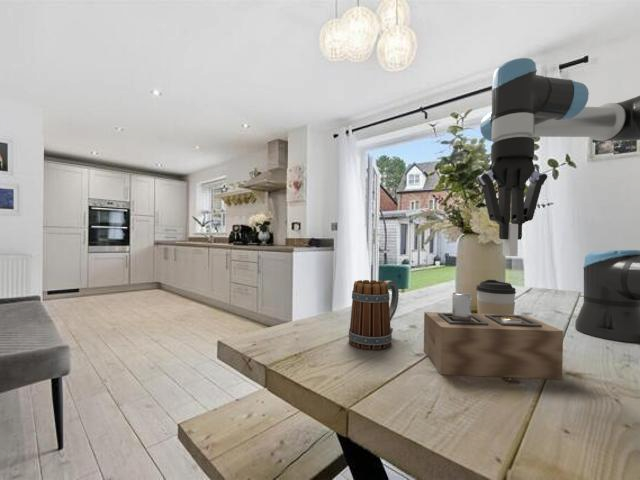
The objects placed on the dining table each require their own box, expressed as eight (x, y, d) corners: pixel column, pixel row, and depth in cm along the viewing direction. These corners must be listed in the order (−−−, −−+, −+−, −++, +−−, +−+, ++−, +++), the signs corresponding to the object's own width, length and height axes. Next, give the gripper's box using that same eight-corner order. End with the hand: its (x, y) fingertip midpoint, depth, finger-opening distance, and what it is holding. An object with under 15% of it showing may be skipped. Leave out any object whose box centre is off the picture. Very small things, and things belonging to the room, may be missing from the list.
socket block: (523, 355, 69) (524, 313, 69) (562, 379, 57) (563, 328, 57) (423, 351, 70) (424, 310, 70) (440, 374, 58) (441, 325, 58)
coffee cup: (521, 346, 75) (522, 284, 75) (481, 343, 76) (482, 283, 76) (506, 334, 84) (507, 279, 83) (471, 332, 85) (471, 278, 85)
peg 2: (514, 356, 65) (515, 316, 65) (525, 363, 61) (525, 321, 61) (497, 356, 65) (497, 316, 65) (506, 363, 62) (507, 320, 62)
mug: (372, 354, 68) (373, 287, 68) (339, 341, 76) (340, 281, 76) (412, 340, 78) (413, 281, 78) (380, 330, 86) (380, 277, 86)
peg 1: (466, 332, 66) (467, 292, 66) (473, 337, 62) (474, 295, 62) (449, 331, 66) (450, 292, 66) (455, 337, 62) (456, 295, 62)
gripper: (533, 146, 66) (531, 255, 67) (471, 146, 67) (469, 254, 67) (558, 134, 59) (555, 257, 59) (488, 135, 60) (485, 256, 60)
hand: (509, 255), depth 63 cm, fingers closed
